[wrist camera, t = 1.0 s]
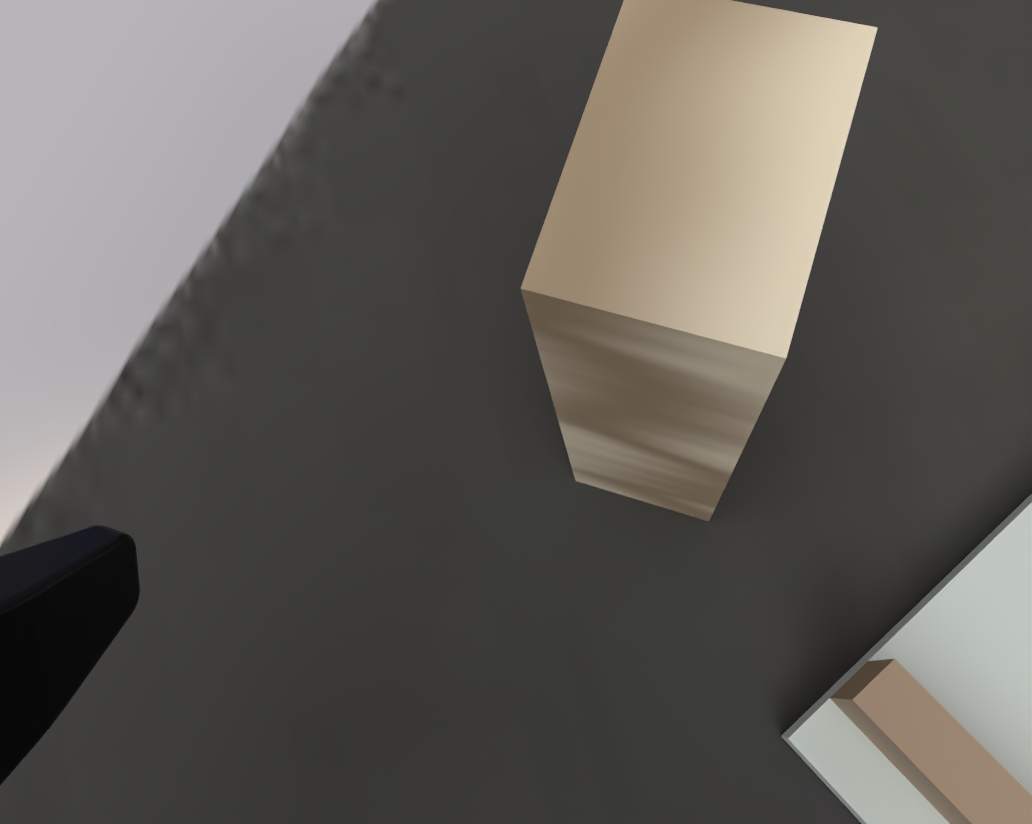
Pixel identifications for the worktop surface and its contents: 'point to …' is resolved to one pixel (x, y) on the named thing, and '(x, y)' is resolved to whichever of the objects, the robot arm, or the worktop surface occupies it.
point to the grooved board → (939, 701)
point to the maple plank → (688, 237)
